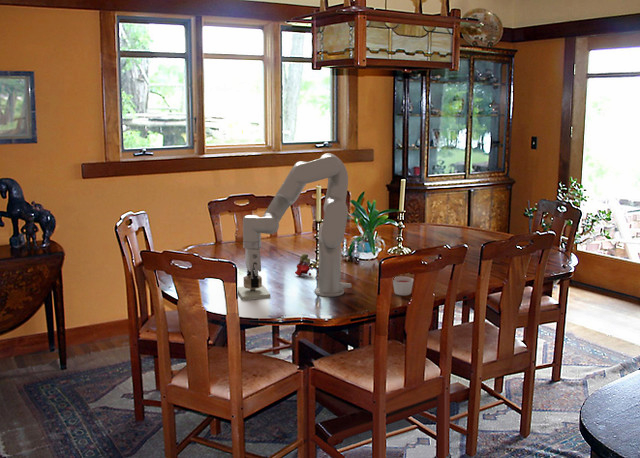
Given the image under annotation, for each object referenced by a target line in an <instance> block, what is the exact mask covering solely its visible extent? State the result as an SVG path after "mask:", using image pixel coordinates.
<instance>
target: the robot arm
mask: <svg viewBox="0 0 640 458" xmlns="http://www.w3.org/2000/svg"><path fill="white" fill-rule="evenodd" d="M326 179H327V187H326V189H327V190H326V193H325V198H324V199H325V200H324V204H323V211H324V215H323V220H322V223H321V224H320V226H319V228H318V232H317V235H318V237H317V238H318V287H316V288H315V289H314V293H315V294H316V295H317V296H320V297H329V298H331V297H332V298H333V297H340V296H342V295H344V293H345V288H347V289H348V288H350V289H351V288H352V283H351V282H349V283H347V282H342V280H341V278H342V276H341V274H342V271H341V270H342V269H341V267H342V265H341V264H342V263H341V262H342V243H343V241H344V237H345V232H346V227H347V221H348V214H349V211H348V208H349V207H348V205H347V201H346V200H347V195H348V186H349V175H348V170H347V167H346V165H345V164H344V163H343V161H342V160H341V159H340V158H339V157H338V156H336V155H335V154H333V153H330V152H326V153H324V154H321V156H320V158H318V159H314V160H311V161H301V160H300V161H297V162H295V163H294V165H293V167H292V168H291V169H290V171H289V173H288V174H287V176H286V177H285V179H284V181H283V183H282V184H281V186H280V188H279V189H278V190H277V192H276V194H275V196H274V197H273V199H272V200H271V202H270V203H269V205H268V207H267V208H266V209H265V211H264V213H263V215H262V216H259V215H257V214H248V215H244V216H243V217H242V244H243V245H242V248H243V249H244V251H245V257H244V259H245V268H246V276H247V275H251V277H252V278H251V288H256V287H259V277H258V275H259V273H260V272H262V259H261V250H260V249H261V248H262V234H266V235H272V234H275V233H276V232H277V231H278V230H279V228H280V221H281V220H282V219H283V216H285V213H286V211H287V210H288V209H289V208H290V207H291V206H292V205H294V203H295V202H297V200H298V198H299V197H300V195H301V193H302V192H303V190H304V189H305V187H306V185H307V184H310V183H317V182H318V181H322V180H326Z"/></svg>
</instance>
